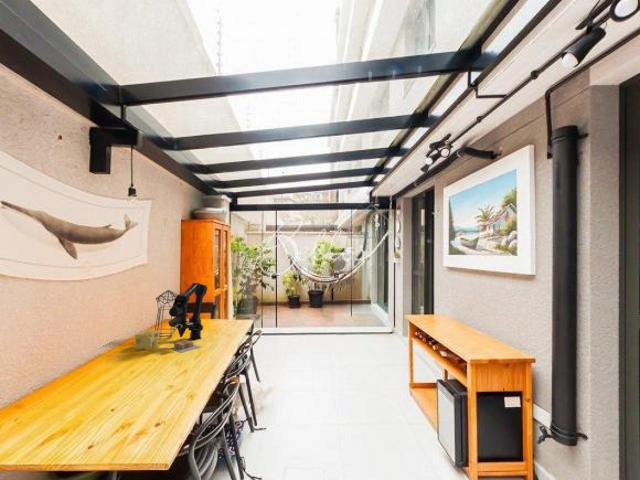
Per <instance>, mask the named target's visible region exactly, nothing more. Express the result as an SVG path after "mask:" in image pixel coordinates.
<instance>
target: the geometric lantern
mask: <svg viewBox="0 0 640 480" xmlns="http://www.w3.org/2000/svg"><path fill="white" fill-rule="evenodd" d="M166 295H167V296H166ZM177 295H178V293H175V291H172V290H170V289H167V290H166V291H164V292H163V293H160V294H159V295H158V296H157V297H156V298H155V300H156V303H157V313H156V314H157V315H156V321H155V327H154V331H159V338H161V337H162V335H165V334H166V335H165V337H166V338H165V337H164V338H163V340H165V339H166V340H168V339H171V338H172V337H173V334H175V332H176V331H178V329H177V328H176V327H175V326H174V327H172V326H170V328H162V327H163V318H164V310H168V311H169V310H170V309H171V308H172V306H171V304H170V303H172V305H173V304H174V301H175V299H176V297H177ZM170 297H171V298H170ZM161 303H162V304H161ZM166 304H168V307H169V308H165V307H166ZM159 305H160V307H159ZM174 318H175V316H174V317H172V316H170V320H172V319H174ZM160 320H161V322H160ZM159 327H160V328H159ZM163 330H170V332H161V331H163ZM168 334H169V335H168ZM167 337H168V338H167Z"/></svg>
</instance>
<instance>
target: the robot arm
mask: <svg viewBox="0 0 640 480" xmlns="http://www.w3.org/2000/svg"><path fill="white" fill-rule="evenodd" d="M207 291H208V286H207V285H205V284H202V283H199V282H192V283H191V285H190V286H189V287H188V288H187V289H186V290H185V291H183V292H181V293H179V294H177V295H176V296H177V297H176V299H175V298H174V299H175V300H173V303H174V304H173V303H172V306H171V308H169V309H170V310H168V314H169V316H170V317H171V316H172V320H171V319H170V320H169V321H167V323H168V325H169V327H171V326H172V328H174V326H175V329H176V328H177V331H178V334H179V337H180V338H182V337H183V336H184V334H185V332H186V331H187V329H188V331H190V333H189V338H188V339H189V340H191V341H197V340H201V339H203V337H202V336H201V333H202V331H203V329H204V325H203V324H202V320H201V317H200V315H201V310H202V305H203V299H204V297H205V295H207ZM192 295H195V301H194V308H193V313H192V316H191V317H190V318H189V319H188V320H187V317H188V316H189V315H188V314H187V313H188V311H187V309H188V308H187V307H188V306H189V303H188V302H190V297H191V296H192ZM174 316H175V318H174Z"/></svg>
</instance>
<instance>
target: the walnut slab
mask: <svg viewBox="0 0 640 480" xmlns="http://www.w3.org/2000/svg"><path fill="white" fill-rule="evenodd" d="M193 345H194V341H192V340H191V341H190V340H187V339H183V340H180V341H175V342H174V344H173V348H178V349H181V350H183V349H187V348H190V347H193Z"/></svg>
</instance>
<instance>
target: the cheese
mask: <svg viewBox="0 0 640 480" xmlns="http://www.w3.org/2000/svg"><path fill="white" fill-rule="evenodd" d="M159 332H160V330H158V331H157V330H156V331H155V330H142V331H141V332H139V333H136V334H135V340H134V349H135V350H136V351H137V350H139V351H141V350H145V351H150V350H151V351H152V349H154V348H156V347H157V346H158V345H159V340H160V337H159Z"/></svg>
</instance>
